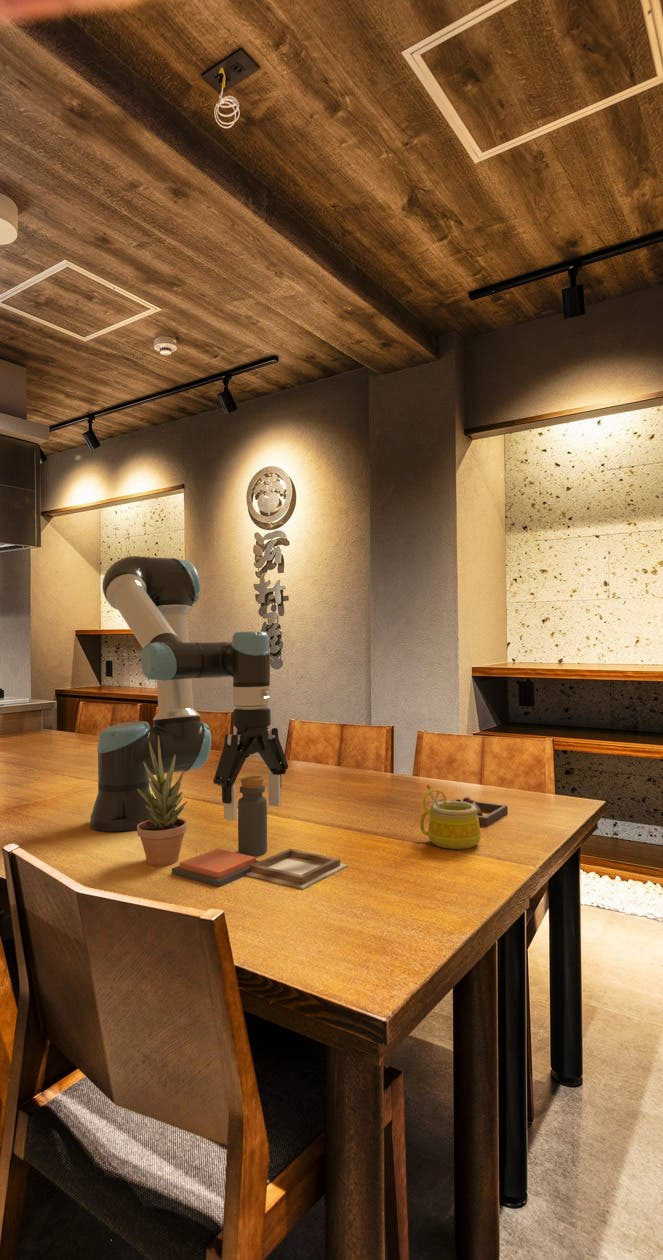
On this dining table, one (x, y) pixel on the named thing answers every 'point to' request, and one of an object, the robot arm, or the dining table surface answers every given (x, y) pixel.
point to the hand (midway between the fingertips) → (253, 812)
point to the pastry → (472, 804)
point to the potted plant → (162, 816)
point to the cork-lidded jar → (252, 817)
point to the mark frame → (296, 868)
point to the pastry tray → (496, 810)
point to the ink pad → (215, 867)
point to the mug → (451, 823)
